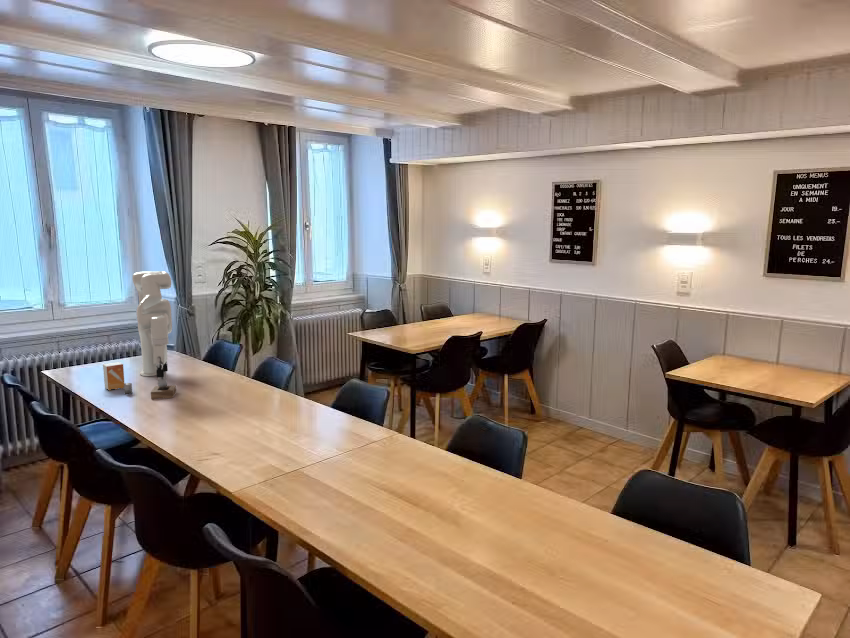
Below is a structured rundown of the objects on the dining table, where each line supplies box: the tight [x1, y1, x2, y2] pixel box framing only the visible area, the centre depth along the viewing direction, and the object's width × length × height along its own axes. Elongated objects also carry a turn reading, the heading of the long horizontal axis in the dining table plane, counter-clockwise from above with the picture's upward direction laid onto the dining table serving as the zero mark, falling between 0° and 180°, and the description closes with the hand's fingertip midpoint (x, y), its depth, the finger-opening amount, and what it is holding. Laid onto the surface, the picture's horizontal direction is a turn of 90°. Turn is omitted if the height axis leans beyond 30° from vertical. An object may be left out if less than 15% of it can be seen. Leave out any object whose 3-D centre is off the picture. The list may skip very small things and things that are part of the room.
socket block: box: [150, 384, 177, 400], centre depth 291 cm, size 10×10×4 cm
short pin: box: [123, 382, 133, 395], centre depth 293 cm, size 4×4×5 cm
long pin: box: [159, 371, 168, 390], centre depth 290 cm, size 4×4×12 cm
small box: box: [102, 361, 126, 391], centre depth 301 cm, size 8×6×13 cm
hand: (162, 374), depth 290 cm, fingers open, 9 cm apart
